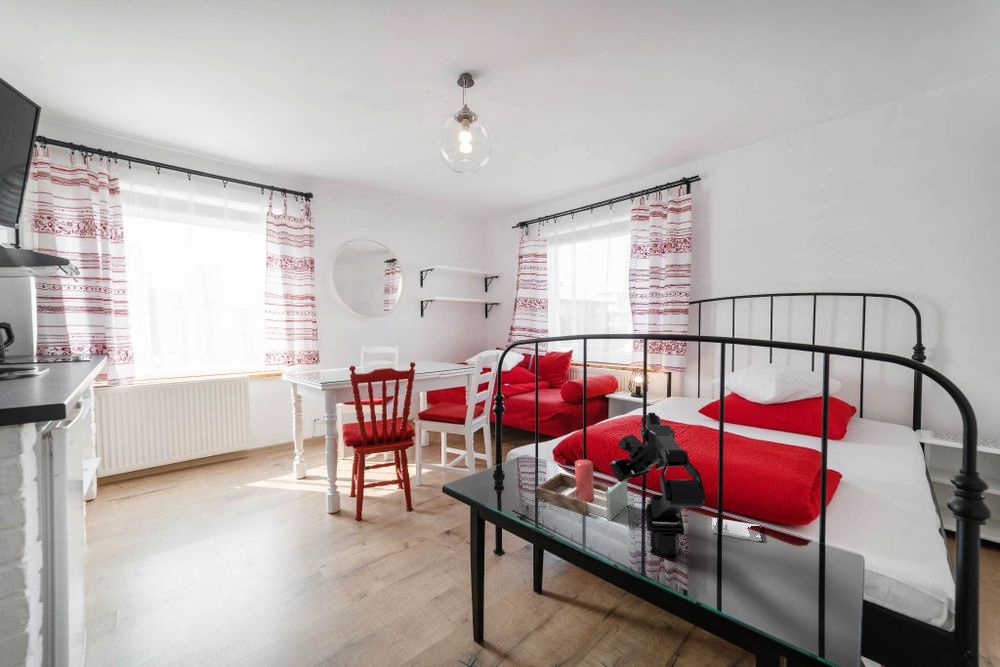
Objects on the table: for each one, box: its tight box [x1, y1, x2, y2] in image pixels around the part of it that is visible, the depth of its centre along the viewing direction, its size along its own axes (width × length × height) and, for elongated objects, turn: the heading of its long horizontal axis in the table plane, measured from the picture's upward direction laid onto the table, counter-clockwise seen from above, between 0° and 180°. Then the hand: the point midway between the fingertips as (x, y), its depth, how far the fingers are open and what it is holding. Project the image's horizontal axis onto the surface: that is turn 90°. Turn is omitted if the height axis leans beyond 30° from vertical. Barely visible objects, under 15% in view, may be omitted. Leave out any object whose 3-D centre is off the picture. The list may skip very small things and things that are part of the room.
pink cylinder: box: [574, 459, 594, 503], centre depth 143 cm, size 6×6×13 cm
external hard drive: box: [711, 517, 761, 538], centre depth 122 cm, size 2×8×12 cm
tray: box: [564, 480, 629, 521], centre depth 141 cm, size 18×12×9 cm
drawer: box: [535, 472, 609, 516], centre depth 147 cm, size 20×16×4 cm
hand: (624, 476), depth 133 cm, fingers closed
